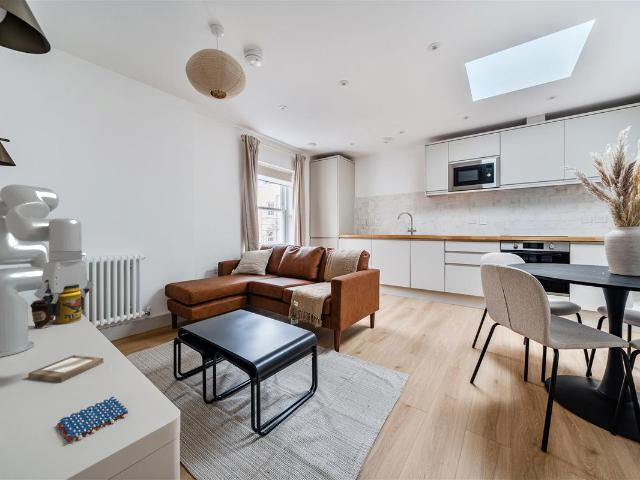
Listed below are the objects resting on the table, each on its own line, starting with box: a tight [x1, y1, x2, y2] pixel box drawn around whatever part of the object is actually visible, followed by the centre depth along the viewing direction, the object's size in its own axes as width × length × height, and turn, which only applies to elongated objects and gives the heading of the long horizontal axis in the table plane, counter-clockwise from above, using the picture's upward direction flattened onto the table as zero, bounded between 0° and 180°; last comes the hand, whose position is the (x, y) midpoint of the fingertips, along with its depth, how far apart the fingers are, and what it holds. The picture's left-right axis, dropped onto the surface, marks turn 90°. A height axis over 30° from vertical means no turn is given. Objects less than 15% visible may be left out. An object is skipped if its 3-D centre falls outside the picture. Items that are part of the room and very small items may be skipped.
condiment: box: [41, 284, 86, 329], centre depth 82 cm, size 7×8×12 cm
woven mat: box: [57, 396, 129, 445], centre depth 59 cm, size 10×11×2 cm
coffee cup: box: [29, 299, 55, 329], centre depth 123 cm, size 9×8×13 cm
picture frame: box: [27, 354, 104, 383], centre depth 82 cm, size 13×12×2 cm
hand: (66, 311), depth 82 cm, fingers closed on condiment, 6 cm apart
